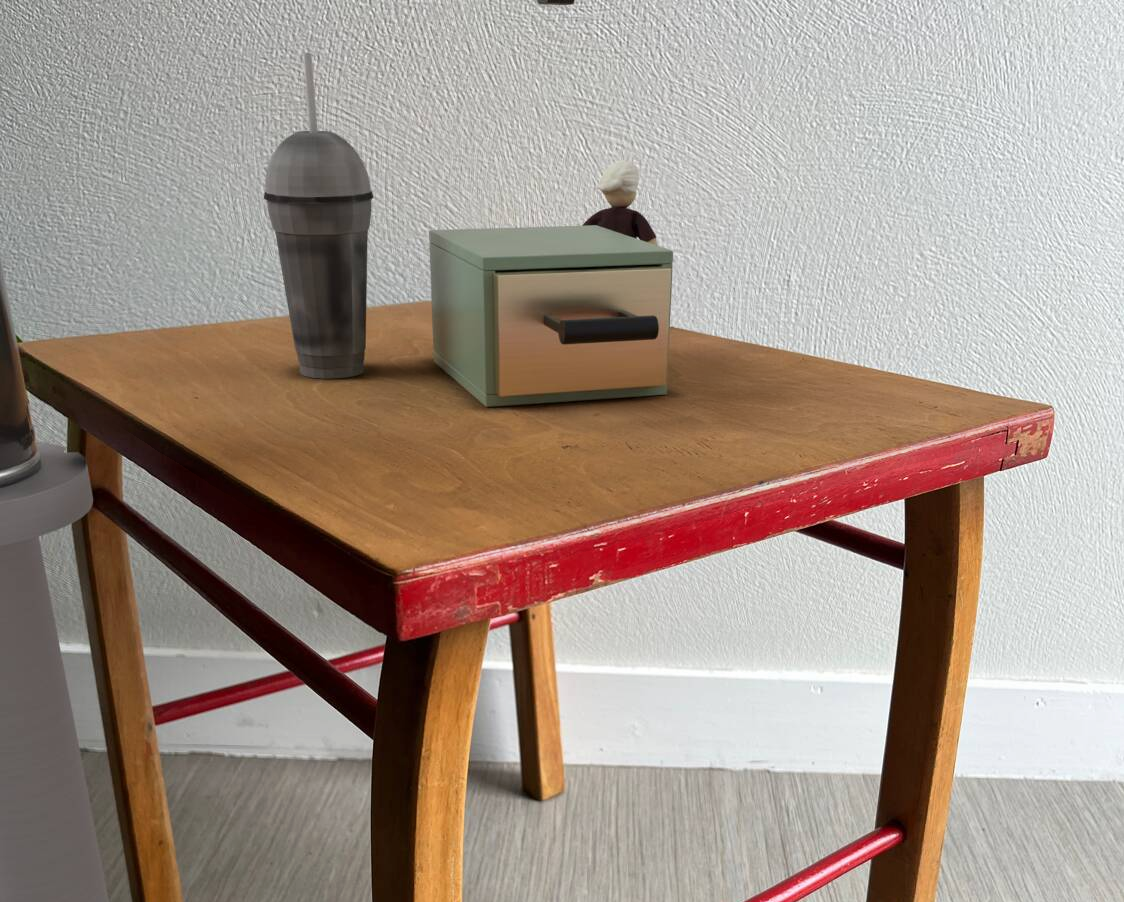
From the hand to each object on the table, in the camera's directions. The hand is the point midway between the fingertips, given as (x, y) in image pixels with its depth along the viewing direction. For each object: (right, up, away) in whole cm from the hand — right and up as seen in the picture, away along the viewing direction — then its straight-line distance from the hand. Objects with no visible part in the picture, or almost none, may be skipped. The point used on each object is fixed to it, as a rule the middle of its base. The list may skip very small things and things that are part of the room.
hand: (555, 3), depth 67 cm
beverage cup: (-16, -12, +24) cm, 32 cm away
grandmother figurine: (+5, -3, +42) cm, 42 cm away
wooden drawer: (0, -14, +19) cm, 24 cm away
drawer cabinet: (-1, -13, +23) cm, 27 cm away
